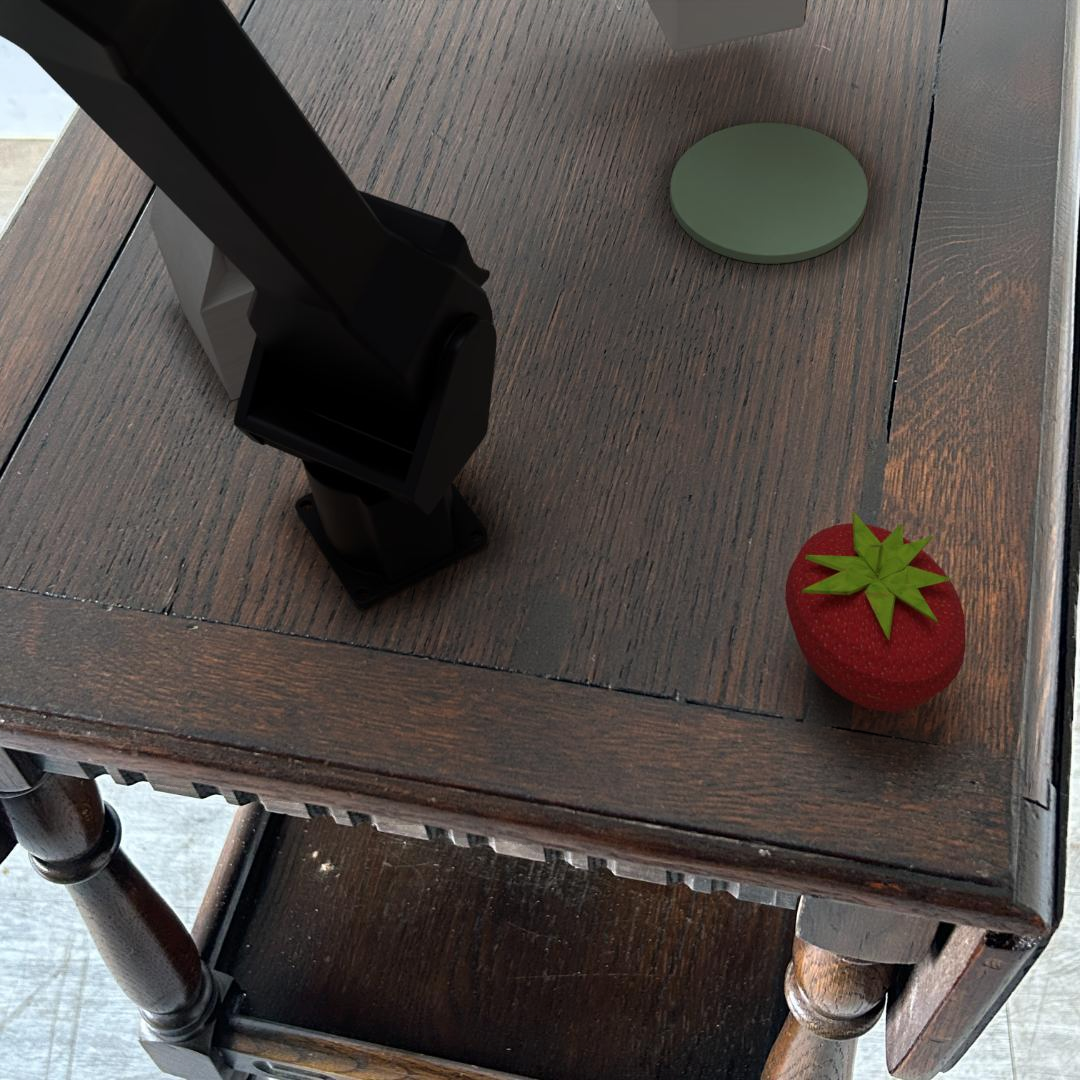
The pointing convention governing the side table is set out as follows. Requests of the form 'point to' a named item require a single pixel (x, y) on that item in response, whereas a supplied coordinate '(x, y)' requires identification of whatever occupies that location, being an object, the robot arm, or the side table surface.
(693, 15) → the medicine bottle
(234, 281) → the tea bag
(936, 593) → the strawberry
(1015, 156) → the side table surface
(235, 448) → the side table surface
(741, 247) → the coaster
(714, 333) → the side table surface
